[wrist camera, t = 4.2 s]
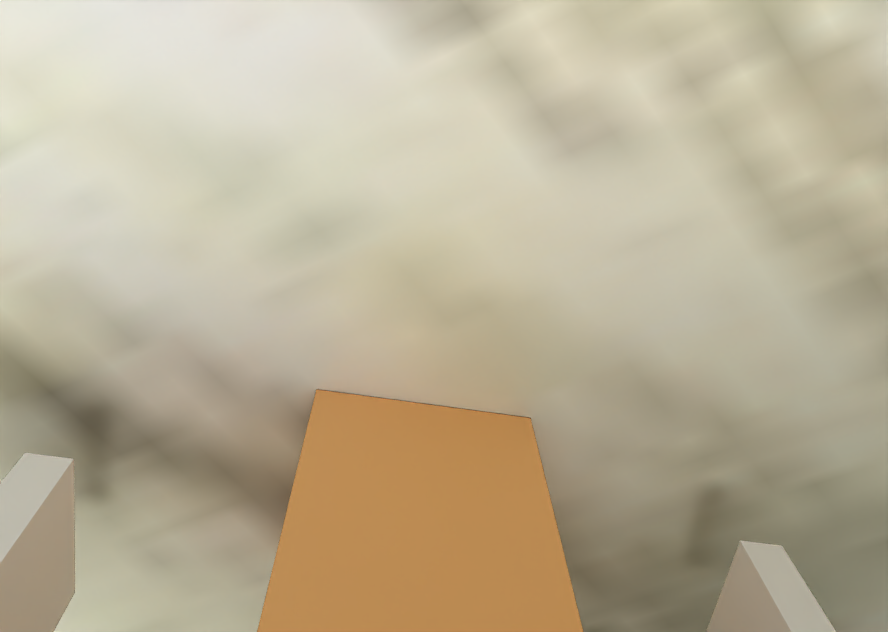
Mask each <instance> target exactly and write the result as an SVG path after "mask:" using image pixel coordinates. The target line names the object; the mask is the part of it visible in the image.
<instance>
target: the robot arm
mask: <svg viewBox="0 0 888 632" xmlns="http://www.w3.org/2000/svg"><path fill="white" fill-rule="evenodd" d="M74 593H75V529H74V459H72V458H64V457H56V456H48V455H39V454H31V453H24V455H23V456H22V457H21V458H20V459H19V461H18V462H17V463H16V464H15V466H14V467H13V468H12V469H11V470H10V472H9V473H8V474H7V475H6V477H5V478H4V479H3V480H2V482H1V483H0V632H53V631H54V629H55V628H56V626H57V624H58V622H59V620H60V619H61V617H62V615H63V613H64V611H65V610H66V608H67V606H68V604H69V602H70V600H71V599H72V597H73V595H74ZM706 632H836V631H835V629H834V628H833V626H832V624H831V623H830V621H829V620H828V618H827V616H826V615H825V613H824V612H823V610H822V608H821V607H820V605H819V604H818V602H817V600H816V599H815V597H814V596H813V594H812V593H811V591H810V589H809V588H808V586H807V585H806V583H805V581H804V580H803V578H802V577H801V575H800V573H799V572H798V570H797V569H796V567H795V565H794V564H793V562H792V561H791V559H790V557H789V556H788V554H787V553H786V551H785V550H784V548H783V546H781V545H773V544H765V543H757V542H749V541H740V542H739V545H738V548H737V550H736V553H735V556H734V558H733V561H732V564H731V566H730V569H729V572H728V574H727V577H726V580H725V582H724V585H723V588H722V590H721V593H720V596H719V598H718V601H717V603H716V606H715V609H714V611H713V614H712V617H711V619H710V622H709V625H708V627H707V630H706Z"/></svg>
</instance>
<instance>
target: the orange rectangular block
mask: <svg viewBox="0 0 888 632" xmlns="http://www.w3.org/2000/svg"><path fill="white" fill-rule="evenodd" d="M257 632H583V628H582V624H581V620H580V616H579V612H578V608H577V604H576V600H575V596H574V592H573V588H572V584H571V580H570V576H569V572H568V568H567V564H566V560H565V556H564V551H563V547H562V543H561V539H560V535H559V531H558V527H557V523H556V519H555V515H554V511H553V507H552V503H551V499H550V495H549V491H548V487H547V483H546V479H545V475H544V470H543V466H542V462H541V458H540V454H539V450H538V446H537V442H536V438H535V434H534V430H533V426H532V422H531V418H526V417H519V416H511V415H504V414H496V413H489V412H481V411H474V410H466V409H459V408H451V407H444V406H436V405H429V404H421V403H414V402H407V401H399V400H392V399H384V398H377V397H369V396H362V395H354V394H347V393H339V392H332V391H324V390H317V389H316V393H315V397H314V401H313V405H312V410H311V414H310V418H309V422H308V426H307V430H306V434H305V438H304V442H303V446H302V450H301V454H300V459H299V463H298V467H297V471H296V475H295V479H294V483H293V487H292V491H291V495H290V499H289V503H288V508H287V512H286V516H285V520H284V524H283V528H282V532H281V536H280V540H279V544H278V548H277V552H276V557H275V561H274V565H273V569H272V573H271V577H270V581H269V585H268V589H267V593H266V597H265V601H264V606H263V610H262V614H261V618H260V622H259V626H258V630H257Z"/></svg>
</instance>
